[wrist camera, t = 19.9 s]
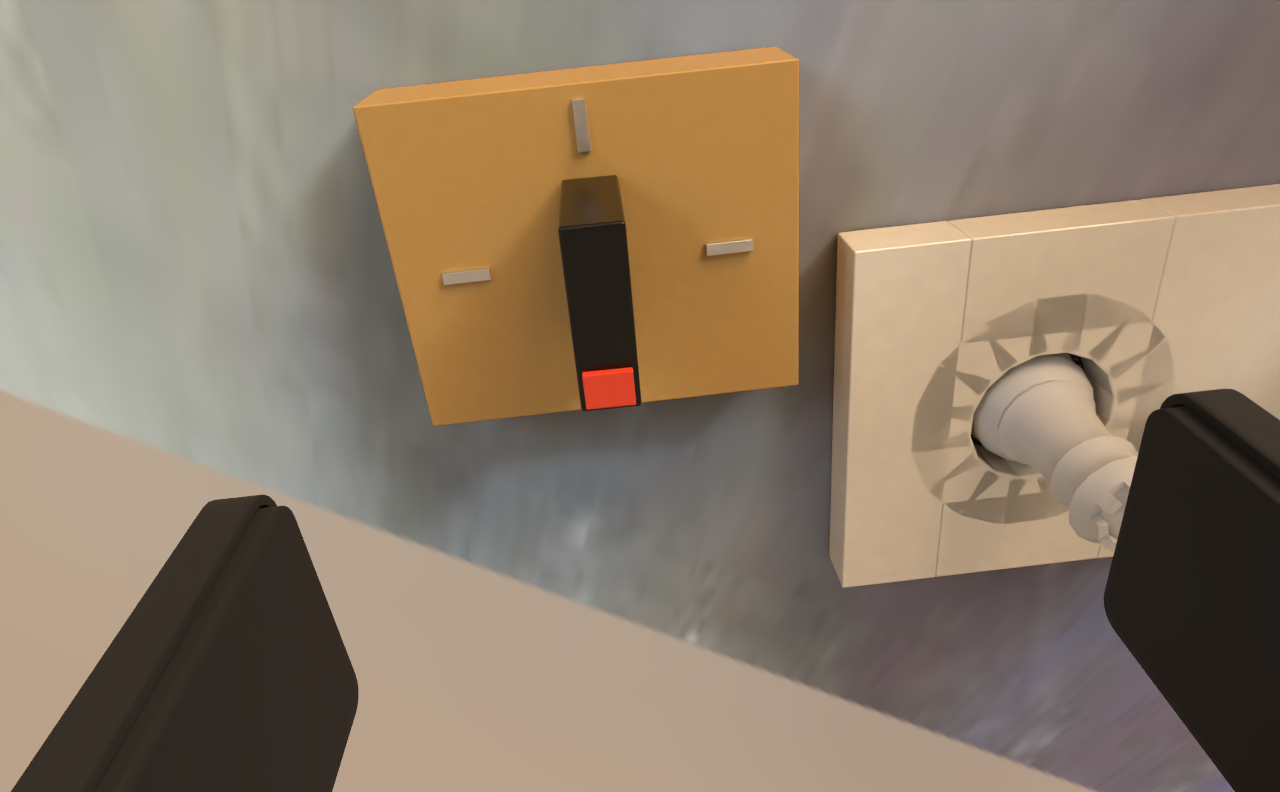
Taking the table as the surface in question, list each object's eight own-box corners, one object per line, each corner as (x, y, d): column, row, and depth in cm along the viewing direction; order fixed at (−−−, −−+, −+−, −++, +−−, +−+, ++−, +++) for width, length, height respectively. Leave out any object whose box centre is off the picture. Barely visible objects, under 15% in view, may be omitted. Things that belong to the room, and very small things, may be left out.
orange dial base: (775, 46, 25) (801, 59, 22) (779, 346, 29) (799, 387, 27) (376, 89, 24) (350, 108, 22) (445, 383, 29) (432, 429, 27)
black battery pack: (560, 179, 23) (557, 230, 19) (617, 174, 23) (626, 224, 19) (581, 340, 26) (581, 417, 21) (632, 335, 26) (642, 410, 21)
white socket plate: (1364, 173, 28) (1417, 189, 26) (1252, 506, 35) (1288, 536, 33) (837, 232, 28) (854, 252, 26) (828, 555, 34) (842, 588, 33)
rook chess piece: (1004, 460, 33) (1120, 601, 26) (931, 400, 31) (1033, 533, 24) (1097, 381, 31) (1247, 509, 24) (1026, 314, 29) (1164, 428, 22)
